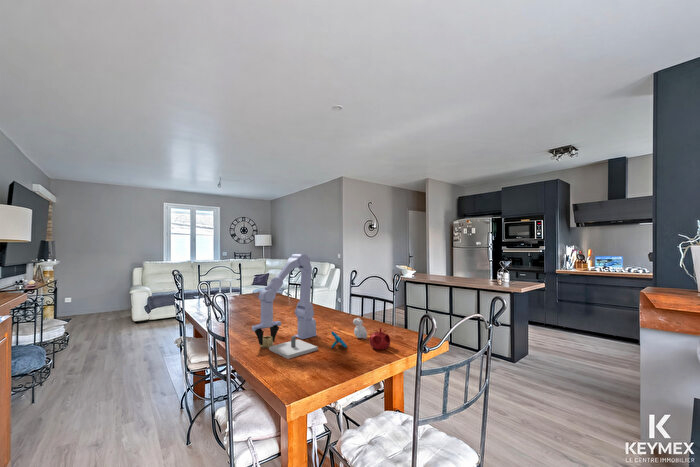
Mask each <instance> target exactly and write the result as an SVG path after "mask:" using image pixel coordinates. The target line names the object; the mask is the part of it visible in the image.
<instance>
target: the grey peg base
mask: <svg viewBox="0 0 700 467" xmlns="http://www.w3.org/2000/svg"><path fill="white" fill-rule="evenodd" d="M296 338H297V337H295V336H294V335H292V336H291V337H290V339H291V340H289V341H286V342H283V343H278V344H275V345H274V344H273V346H270V347H269V348H268V350H269V351H270V352H272V353H275V354H277V355H279V356H280V357H283V358H284V359H287V360H289V359H291V358H296V357H299V356H302V355H303V356H304V355H306V354H308V353H312V352H316V351H318V350H319V348H318V346H317V345H314V344H312V343H309V342H306V341H303V340H302V339H300V338H298V339H296Z"/></svg>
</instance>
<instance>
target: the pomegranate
mask: <svg viewBox="0 0 700 467" xmlns="http://www.w3.org/2000/svg"><path fill="white" fill-rule="evenodd" d="M382 328H383V327H379V328H378V329H379V331H378V330H377V329H375V330H374V331H373V332H372V334H371V335H370V337H369V338H368V341H369V344H370V346H371V348H372V349H375V350H377V351H381V350H387V349H388V348H389V347H390V345H391V337H390V335H389V334H388V333H387V331H386V330H383V329H382ZM382 330H383V331H382ZM385 332H386V333H385Z"/></svg>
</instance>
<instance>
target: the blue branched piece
mask: <svg viewBox="0 0 700 467" xmlns="http://www.w3.org/2000/svg"><path fill="white" fill-rule="evenodd" d="M330 333H331V335H332V336H333V338H334V339H335V341H334V342H333V343H332V345H331V348H332V349H333V348H334V347H335V346H336V345H337V344H339V343H340V345H341V346H342V347H344V348H347V347H348V346H347V343H345V341H344V340H342V338H341V337H340V336H339V335H338V334H337V333H336V332H335V331H331V332H330Z"/></svg>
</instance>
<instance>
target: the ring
mask: <svg viewBox="0 0 700 467" xmlns="http://www.w3.org/2000/svg"><path fill="white" fill-rule="evenodd" d="M259 346H260V348H262V349H269V347H270V346H274V342H273V337H272V336H271V335H263V344H262V345H260V344H259Z"/></svg>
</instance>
